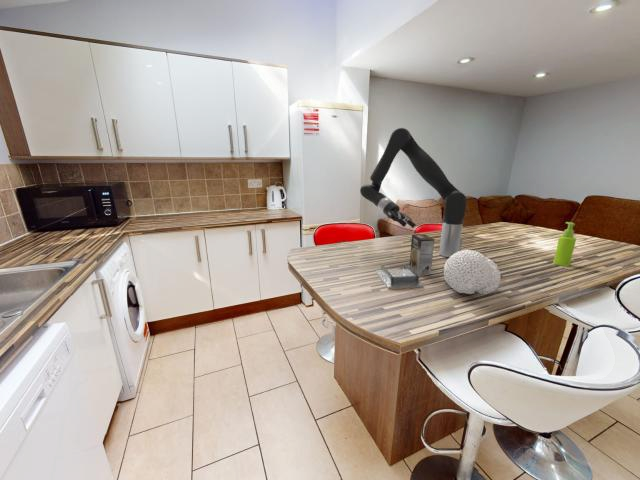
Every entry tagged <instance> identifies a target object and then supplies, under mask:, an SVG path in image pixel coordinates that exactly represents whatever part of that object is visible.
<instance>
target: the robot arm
mask: <svg viewBox="0 0 640 480" xmlns="http://www.w3.org/2000/svg"><path fill="white" fill-rule="evenodd" d="M387 142H388V143H387V145H386V147H385V149H384V152H383V154H382V156H381V157H380V159H379V161H378V163H377V164H376V165H375V167H374V169H373V171H372V173H371V175H370V177H369V179H370V180H371V184H368V183H366V184H363V185H361V187H360V188H359V189H360V190H359V191H360V194H361V196H362V197H363V198H364V199H366V200H368V201H369V202H371V203H373V205H375V206H376V207H377V208H378V209H379V210H380V211H381V212H382V213H383V214H384V215H385V216H386V217H387V218H388V219H391V220H392V221H393V222H396V223H398V224H399V225H400V226H402V227H406V226H407V225H408V226H410V227H411V228H412V229H414V228H415V227H416V223H415V222H413V221H412V220H413V219H412V218H411V217H410V216H408V215H407V214H406V213H404V212H401V211H400V206H399V205H398V204H396V202H394V201H393V200H391V198H388V197H387V196H386V195H384V194H383V193H382V192H380V190H381V186H382V184H383V183H382V182H383V181H384V179H385V177H386V176H387V174H388V173H389V170H390V169H391V167H392V164H393V162H394V160H395V158H396V157H397V155H398V154H399V152H400V151H402V152H403V154H405V155H406V157H407V158H408V160H409V161H410V162H411V163H410V164H411V165H412V166H413V168H414V169H415V171H416V172H417V173H418V175H419V176H420V177H421V178H422V179H423V180H424V181H425V182H426V183H428V185H429V186H431V187H432V188H433V189H434V190H435V191H437V193H438V194H439V196H440V197H441V199H442V200H443V201H444V203H445V206H444V214H443V217H442V227H441V235H440V242H439V244H440V245H439V251H438V252H439V255H440V256H442V257H446V258H450V257H451V256H452V255H453V254H454V253H457V252H459V251H462V245H463V238H462V231H463V226H464V225H463V223H464V219H465V215H466V210H467V208H466V207H467V197H466V195H465V194H464V193H463V192H462V191H460V190H459V189H458V188H456V187H455V185H454V184H452V183H451V182H450V180H449V179H448V177H447V176H446V174H445V173H444V171H443V170H442V168H441V167H440V166H439V164H438V163H437V162H436V160H434V159H433V157H431V155H430V154H428V153H427V152H426V151H425V150H424V149H423V148H422V147H421V146H420V145H419V144H418V143H417V142H416V140H415V139H414V137H413V135H412V133H411V132H410V131H409V129H407V128H405V127H397V128H395V129H394V130H392V132H391V133H390V137H389V140H388V141H387Z"/></svg>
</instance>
